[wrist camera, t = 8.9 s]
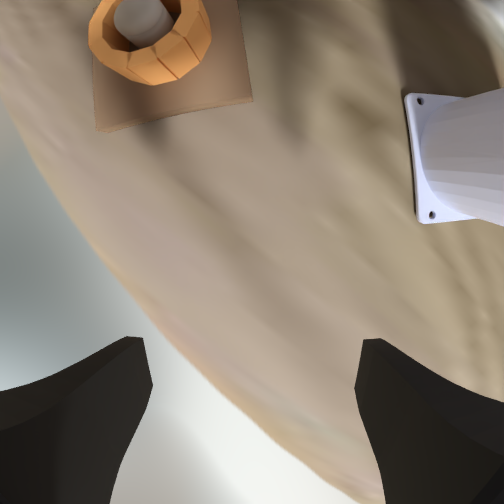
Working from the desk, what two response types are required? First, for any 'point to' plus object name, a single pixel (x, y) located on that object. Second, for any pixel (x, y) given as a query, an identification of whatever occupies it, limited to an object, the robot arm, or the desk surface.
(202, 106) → the post stand
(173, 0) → the ring
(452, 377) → the desk surface
